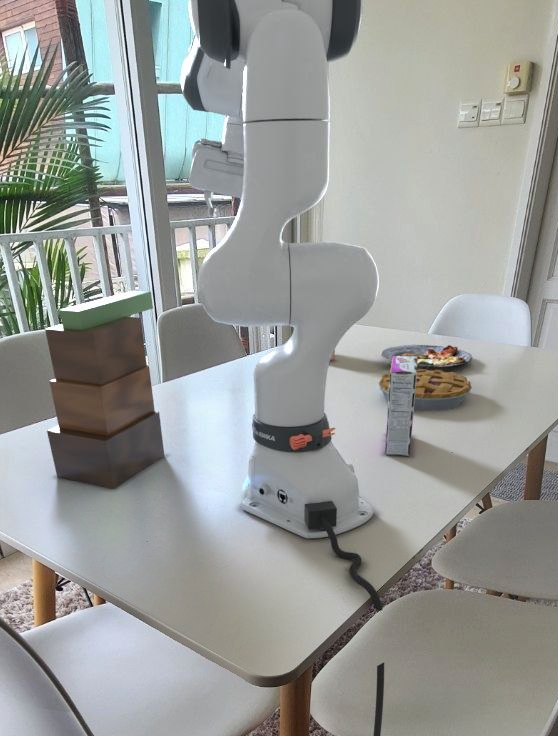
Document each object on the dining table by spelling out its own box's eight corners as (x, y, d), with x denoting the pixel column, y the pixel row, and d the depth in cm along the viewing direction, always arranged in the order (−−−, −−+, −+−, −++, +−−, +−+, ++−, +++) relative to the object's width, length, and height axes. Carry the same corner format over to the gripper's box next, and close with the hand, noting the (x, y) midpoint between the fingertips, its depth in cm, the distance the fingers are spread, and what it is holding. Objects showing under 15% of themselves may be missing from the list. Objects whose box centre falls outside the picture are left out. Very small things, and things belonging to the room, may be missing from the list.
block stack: (111, 446, 127) (89, 313, 113) (164, 455, 122) (147, 318, 108) (56, 477, 114) (24, 331, 101) (113, 488, 109) (87, 338, 96)
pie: (372, 410, 142) (373, 388, 140) (381, 382, 160) (383, 363, 158) (471, 415, 137) (474, 393, 135) (469, 386, 156) (472, 366, 153)
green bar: (135, 307, 118) (133, 290, 116) (153, 308, 116) (151, 291, 115) (62, 328, 102) (59, 309, 101) (81, 330, 101) (78, 311, 99)
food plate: (471, 354, 183) (473, 342, 181) (471, 376, 163) (472, 362, 162) (386, 350, 189) (387, 338, 187) (376, 371, 170) (377, 358, 168)
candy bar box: (386, 434, 129) (392, 355, 120) (410, 436, 128) (418, 355, 119) (383, 455, 119) (389, 370, 111) (409, 457, 118) (418, 371, 110)
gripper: (190, 133, 124) (181, 210, 129) (289, 154, 123) (276, 230, 129) (197, 139, 129) (189, 212, 135) (293, 159, 129) (280, 232, 134)
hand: (232, 221), depth 132 cm, fingers open, 8 cm apart
